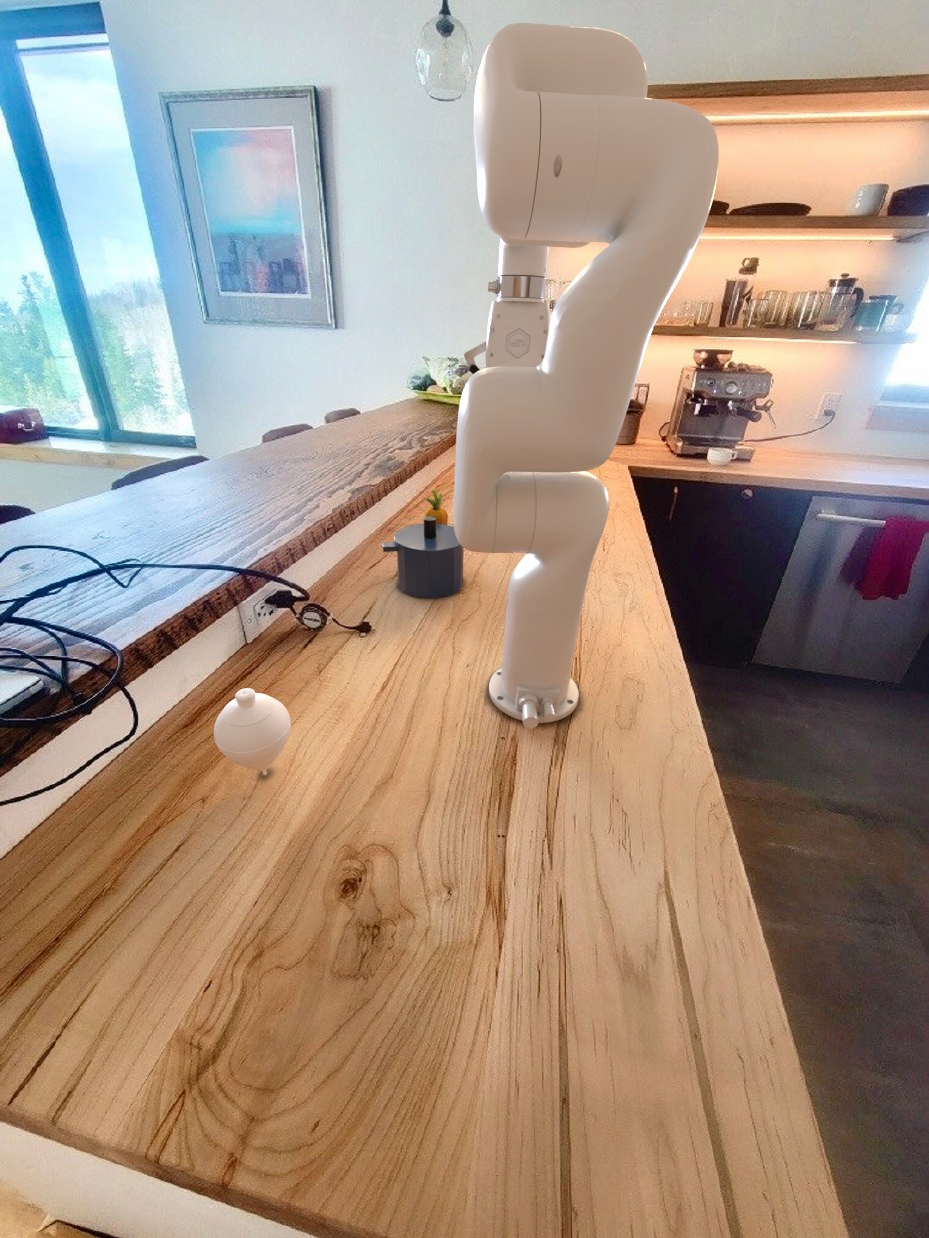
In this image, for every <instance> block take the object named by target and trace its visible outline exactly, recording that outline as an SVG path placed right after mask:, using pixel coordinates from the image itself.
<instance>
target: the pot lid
mask: <svg viewBox="0 0 929 1238" xmlns="http://www.w3.org/2000/svg"><path fill="white" fill-rule="evenodd" d="M393 542H395V543H396V544H397V545H398V546H400V547H402V548H404V549H407V550H410V551H415V552H423V553H439V552H446V551H451V550H454V549H457V548H459V547H461V545H460V543H459V542H458V540H457V538H456V535H455V532H454V526H453V525H452V526H451V525H448V524H447V525H443V524H437V518H436V517H433V516H427V517H425V516H424V517H423V523H418V524H412V525H411V524H410V525H407V526H405V527H402V528H400V529H399V530H397V531H396V532H395V533H394V534H393Z"/></svg>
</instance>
